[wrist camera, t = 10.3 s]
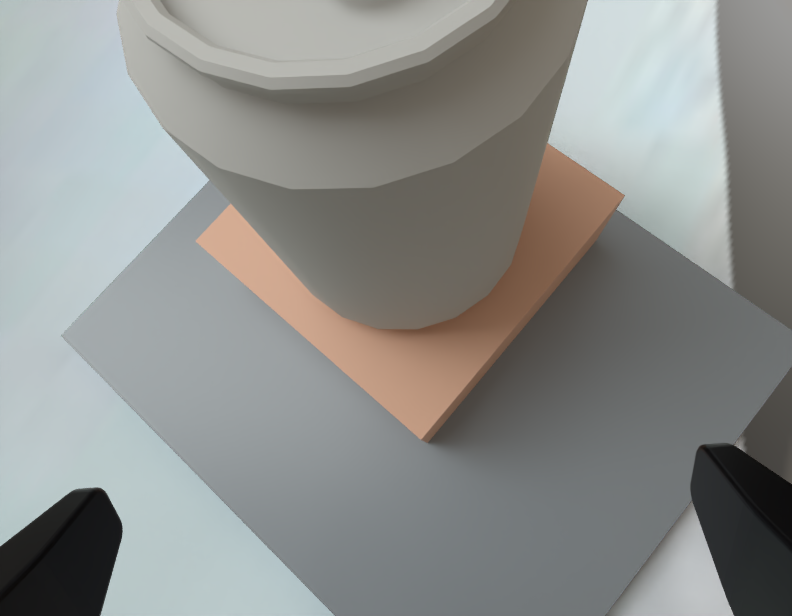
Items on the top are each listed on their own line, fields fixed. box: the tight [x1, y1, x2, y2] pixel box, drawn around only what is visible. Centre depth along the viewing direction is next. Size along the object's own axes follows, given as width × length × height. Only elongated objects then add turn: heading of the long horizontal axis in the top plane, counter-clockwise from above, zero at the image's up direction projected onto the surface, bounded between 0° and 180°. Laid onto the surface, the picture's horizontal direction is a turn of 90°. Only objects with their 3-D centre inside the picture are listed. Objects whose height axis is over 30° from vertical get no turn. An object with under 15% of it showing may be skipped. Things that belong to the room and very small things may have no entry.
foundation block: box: [196, 143, 625, 443], centre depth 21 cm, size 10×10×4 cm
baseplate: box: [61, 180, 792, 616], centre depth 23 cm, size 22×18×1 cm
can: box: [117, 0, 588, 329], centre depth 13 cm, size 8×8×12 cm
